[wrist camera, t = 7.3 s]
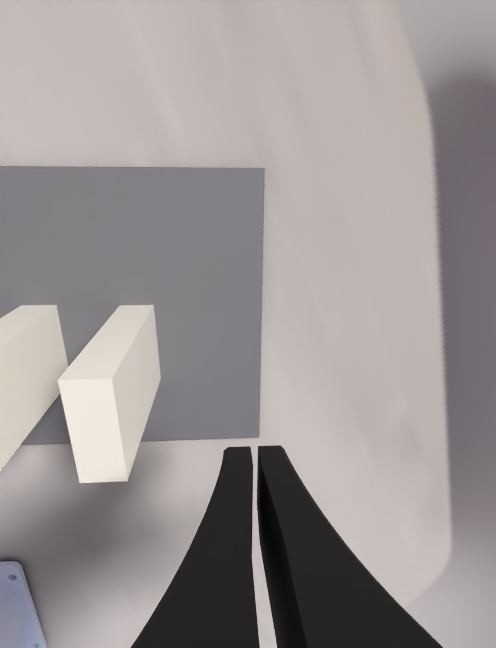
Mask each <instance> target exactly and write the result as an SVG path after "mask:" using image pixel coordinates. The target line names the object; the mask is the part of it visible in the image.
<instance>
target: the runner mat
mask: <svg viewBox="0 0 496 648" xmlns="http://www.w3.org/2000/svg"><path fill="white" fill-rule="evenodd" d="M264 171H265V168H174V167H40V166H0V318H2V317H3V316H5V315H7V314H8V313H10V312H11V311H13V310H15V309H16V308H18V307H19V306H21V305H57V311H58V316H59V321H60V326H61V331H62V336H63V342H64V347H65V352H66V357H67V362H68V367H69V366H70V365H71V363H72V362H73V361H74V360H75V359H76V357H77V356H78V355H79V354H80V353H81V351H82V350H83V349H84V348H85V347H86V345H87V344H88V343H89V342H90V341H91V339H92V338H93V337H94V336H95V335H96V333H97V332H98V331H99V330H100V329H101V327H102V326H103V325H104V324H105V322H106V321H107V320H108V319H109V318H110V316H111V315H112V314H113V313H114V312H115V310H116V309H117V308H118V307H119V306H120V305H154V313H155V323H156V334H157V344H158V354H159V364H160V375H161V379H160V382H159V386H158V389H157V392H156V395H155V398H154V401H153V404H152V407H151V410H150V413H149V416H148V419H147V423H146V426H145V429H144V432H143V435H142V438H141V441H165V440H197V439H228V438H259V418H260V368H261V319H262V270H263V220H264ZM70 443H71V440H70V436H69V431H68V426H67V422H66V417H65V412H64V408H63V403H62V398H61V394H59V395H58V397H57V398H56V399H55V401H54V402H53V403H52V404H51V406H50V407H49V408H48V410H47V411H46V412H45V414H44V415H43V416H42V417H41V419H40V420H39V421H38V423H37V424H36V425H35V427H34V428H33V429H32V430H31V432H30V433H29V434H28V436H27V437H26V438H25V440H24V441H23V442H22V443H21V445H38V444H70Z"/></svg>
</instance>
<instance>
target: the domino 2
mask: <svg viewBox="0 0 496 648" xmlns="http://www.w3.org/2000/svg"><path fill="white" fill-rule="evenodd" d="M160 379H161V375H160V364H159V354H158V344H157V334H156V323H155V313H154V305H120V306H119V307H118V308H117V309H116V310H115V312H114V313H113V314H112V315H111V316H110V318H109V319H108V320H107V321H106V322H105V324H104V325H103V326H102V327H101V329H100V330H99V331H98V332H97V333H96V335H95V336H94V337H93V338H92V339H91V341H90V342H89V343H88V344H87V345H86V347H85V348H84V349H83V350H82V351H81V353H80V354H79V355H78V356H77V357H76V359H75V360H74V361H73V362H72V363H71V365H70V366H69V367H68V368H67V369H66V371H65V372H64V373H63V374H62V375H61V377H60V378H59V379H58V384H59V389H60V394H61V398H62V403H63V408H64V412H65V417H66V422H67V426H68V431H69V436H70V440H71V445H72V450H73V454H74V459H75V464H76V468H77V473H78V478H79V482H80V483H94V482H119V481H128V478H129V475H130V472H131V469H132V466H133V463H134V460H135V456H136V453H137V450H138V447H139V444H140V441H141V438H142V435H143V432H144V429H145V426H146V423H147V419H148V416H149V413H150V410H151V407H152V404H153V401H154V398H155V395H156V392H157V389H158V386H159V382H160Z"/></svg>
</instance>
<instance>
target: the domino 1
mask: <svg viewBox="0 0 496 648" xmlns="http://www.w3.org/2000/svg"><path fill="white" fill-rule="evenodd" d="M67 368H68V362H67V357H66V352H65V347H64V342H63V336H62V331H61V326H60V321H59V316H58V311H57V305H21V306H19V307H18V308H16V309H15V310H13V311H11V312H10V313H8V314H7V315H5V316H3V317H2V318H0V471H1V470H2V468H3V467H4V466H5V464H6V463H7V462H8V460H9V459H10V458H11V457H12V455H13V454H14V453H15V451H16V450H17V449H18V447H19V446H20V445H21V443H22V442H23V441H24V440H25V438H26V437H27V436H28V434H29V433H30V432H31V430H32V429H33V428H34V427H35V425H36V424H37V423H38V421H39V420H40V419H41V417H42V416H43V415H44V414H45V412H46V411H47V410H48V408H49V407H50V406H51V404H52V403H53V402H54V401H55V399H56V398H57V397H58V395H59V394H60V389H59V384H58V379H59V378H60V377H61V375H62V374H63V373H64V372H65V371H66V369H67Z"/></svg>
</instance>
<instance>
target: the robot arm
mask: <svg viewBox="0 0 496 648" xmlns="http://www.w3.org/2000/svg"><path fill="white" fill-rule="evenodd" d="M252 499H253V462H252V455H251V448H250V447H228V448H227V449H225V450H224V454H223V461H222V466H221V470H220V473H219V476H218V480H217V483H216V486H215V489H214V491H213V494H212V497H211V499H210V502H209V505H208V507H207V510H206V512H205V515H204V517H203V519H202V522H201V524H200V526H199V528H198V530H197V533H196V535H195V537H194V539H193V541H192V544H191V546H190V548H189V550H188V552H187V554H186V556H185V558H184V560H183V561H182V563H181V565H180V567H179V569H178V571H177V573H176V575H175V576H174V578H173V580H172V582H171V584H170V585H169V587H168V589H167V591H166V592H165V594H164V596H163V597H162V599H161V601H160V602H159V604H158V606H157V607H156V609H155V611H154V612H153V614H152V616H151V617H150V619H149V621H148V622H147V624H146V625H145V627H144V628H143V630H142V632H141V633H140V635H139V636H138V638H137V639H136V641H135V642H134V644H133V645H132V647H131V648H259V637H258V626H257V614H256V603H255V592H254V580H253V568H252ZM257 510H258V524H259V537H260V546H261V552H262V558H263V564H264V570H265V576H266V582H267V588H268V594H269V600H270V606H271V612H272V617H273V623H274V629H275V635H276V642H277V648H443V647H442V646H441V645H440V644H439V643H438V642H437V641H436V640H435V639H434V638H432V636H431V635H430V634H429V633H428V632H427V631H426V630H425V629H424V628H423V627H422V626H420V624H418V622H416V620H414V619H413V618H412V617H411V616H410V615H409V614H408V613H407V612H406V611H405V610H404V609H403V608H402V607H401V606H400V605H399V604H398V603H397V602H396V601H395V600H394V599H393V597H392V596H391V595H390V594H389V593H388V592H387V591H386V590H385V589H384V588H383V587H382V586H381V584H380V583H379V582H378V581H377V580H376V579H375V578H374V577H373V576H372V575H371V573H370V572H369V571H368V570H367V569H366V568H365V566H364V565H363V564H362V563H361V562H360V561H359V560H358V558H357V557H356V556H355V555H354V553H353V552H352V551H351V550H350V549H349V547H348V546H347V545H346V544H345V542H344V541H343V540H342V538H341V537H340V536H339V534H338V533H337V532H336V531H335V529H334V528H333V527H332V525H331V524H330V523H329V521H328V520H327V518H326V517H325V516H324V514H323V513H322V511H321V510H320V508H319V507H318V505H317V504H316V502H315V501H314V500H313V498H312V497H311V495H310V494H309V492H308V491H307V489H306V487H305V486H304V484H303V483H302V481H301V479H300V478H299V476H298V474H297V473H296V471H295V469H294V467H293V465H292V464H291V462H290V460H289V458H288V456H287V454H286V452H285V450H284V448H283V447H281V446H258V480H257ZM0 648H47V645H46V641H45V638H44V635H43V632H42V629H41V626H40V622H39V619H38V616H37V613H36V610H35V606H34V603H33V600H32V597H31V594H30V591H29V587H28V584H27V581H26V578H25V575H24V572H23V568H22V566H21V564H20V563H18V562H16V561H5V562H0Z"/></svg>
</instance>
